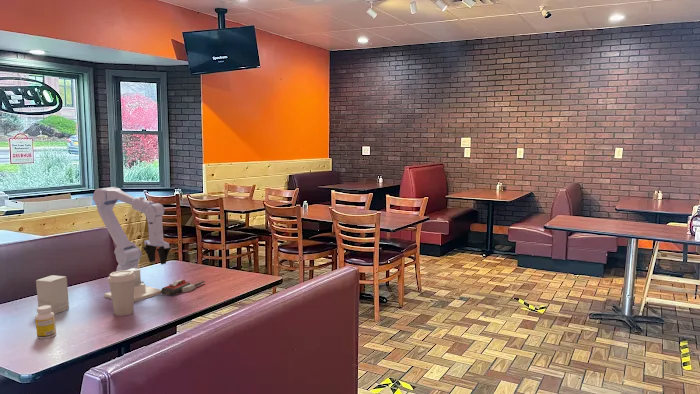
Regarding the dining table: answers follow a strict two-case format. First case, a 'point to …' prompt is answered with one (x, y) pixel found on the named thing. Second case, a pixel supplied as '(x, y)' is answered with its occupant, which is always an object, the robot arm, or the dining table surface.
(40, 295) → the supplement box
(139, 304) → the dining table surface
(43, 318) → the supplement bottle
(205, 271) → the dining table surface
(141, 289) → the jack stand base
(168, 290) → the walkie-talkie
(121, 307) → the coffee cup
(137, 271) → the column
